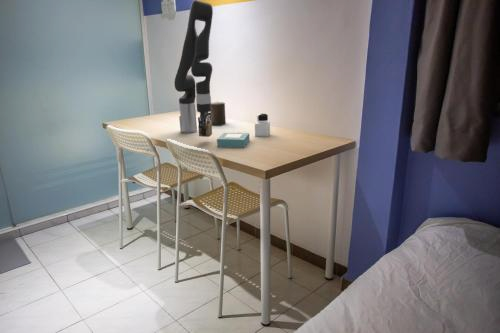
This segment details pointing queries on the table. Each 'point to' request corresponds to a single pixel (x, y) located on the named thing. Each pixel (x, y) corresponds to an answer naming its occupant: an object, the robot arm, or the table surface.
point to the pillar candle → (218, 113)
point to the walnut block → (208, 130)
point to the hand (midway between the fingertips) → (205, 133)
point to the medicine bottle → (262, 125)
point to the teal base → (233, 140)
